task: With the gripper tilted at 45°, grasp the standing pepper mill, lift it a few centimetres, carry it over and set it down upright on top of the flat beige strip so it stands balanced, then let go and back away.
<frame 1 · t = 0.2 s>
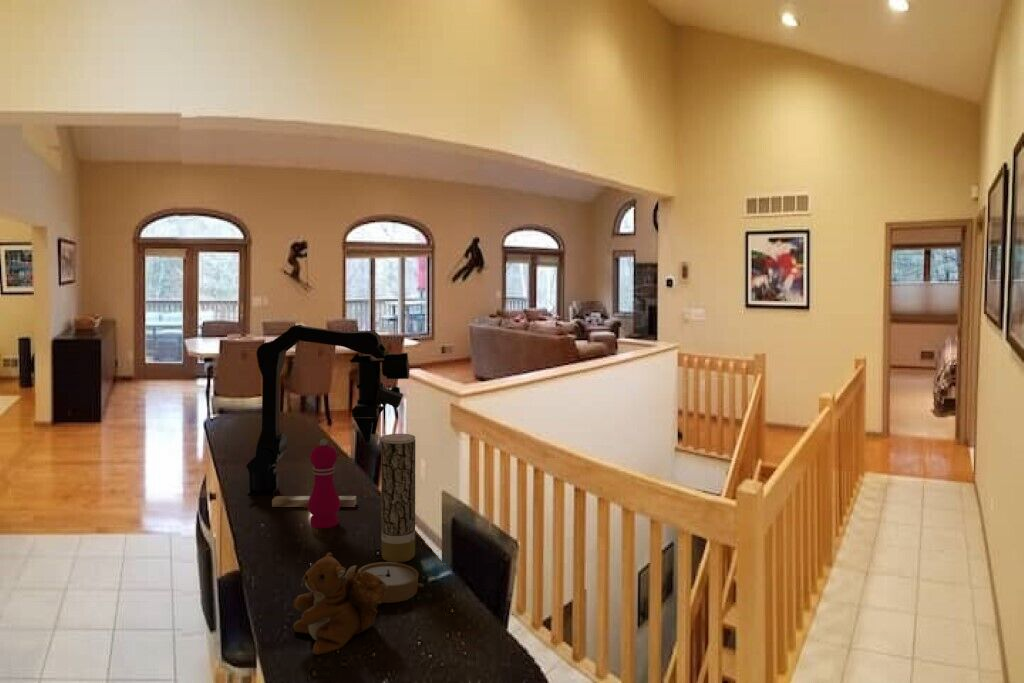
hand: (370, 437, 188), 15 cm above the table, tool pointing down, fingers open, 9 cm apart
pepper mill: (324, 524, 165), on the table
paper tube: (398, 558, 146), on the table
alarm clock: (378, 594, 130), on the table
stuffed squirrel: (340, 635, 115), on the table
flat beige strip: (314, 505, 177), on the table
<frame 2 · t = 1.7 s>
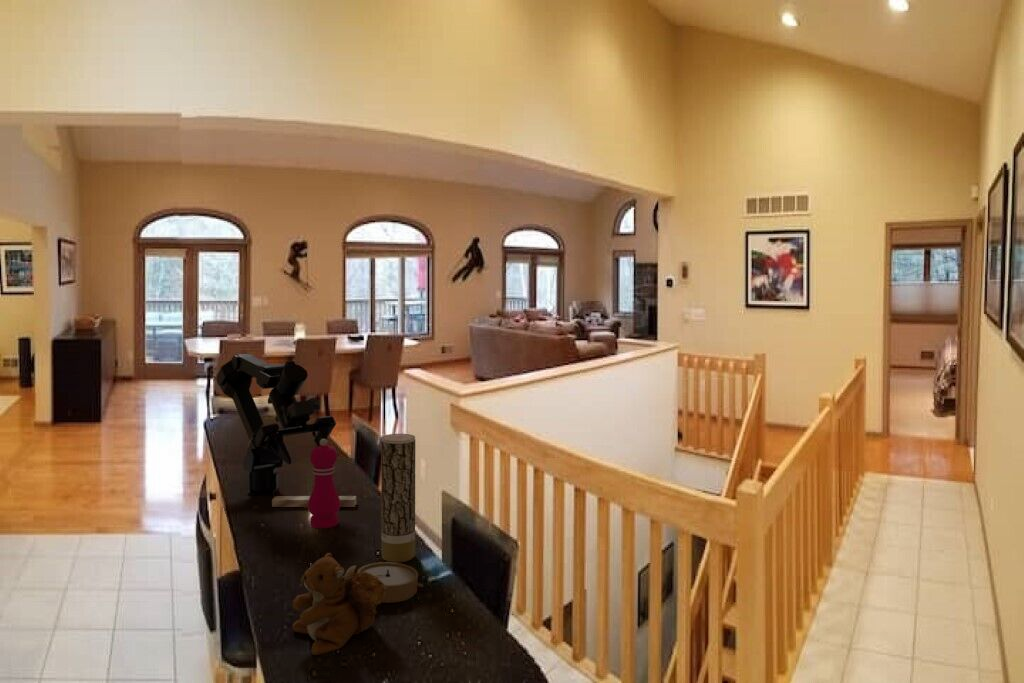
hand: (308, 460, 169), 13 cm above the table, tool tilted 45°, fingers open, 9 cm apart
nothing on the table moved.
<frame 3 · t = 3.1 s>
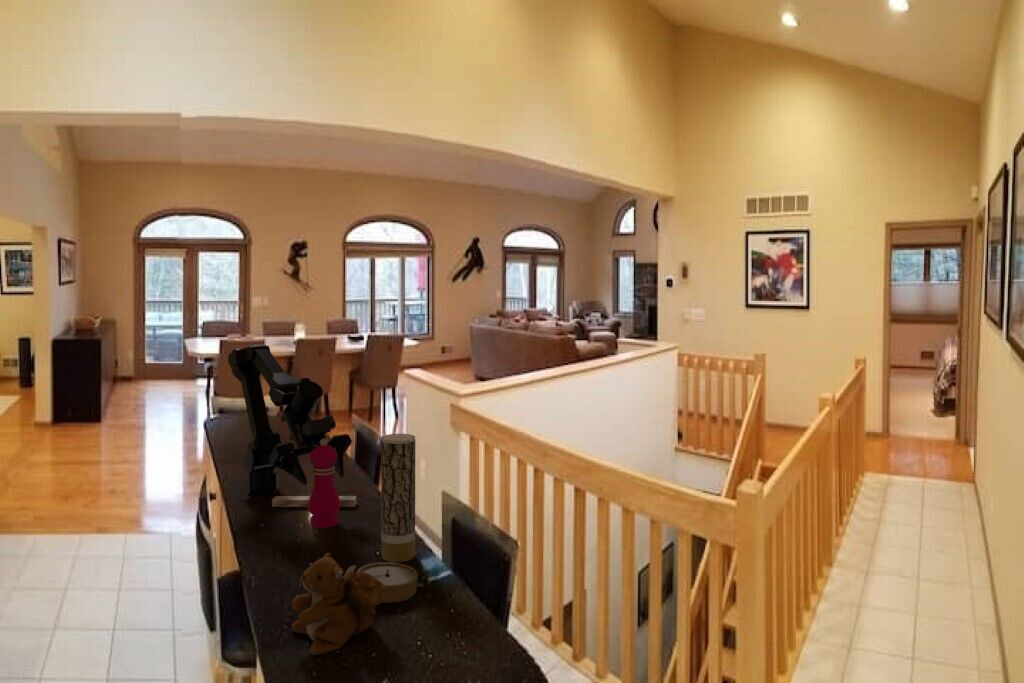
hand: (324, 480, 163), 10 cm above the table, tool tilted 45°, fingers open, 9 cm apart
nothing on the table moved.
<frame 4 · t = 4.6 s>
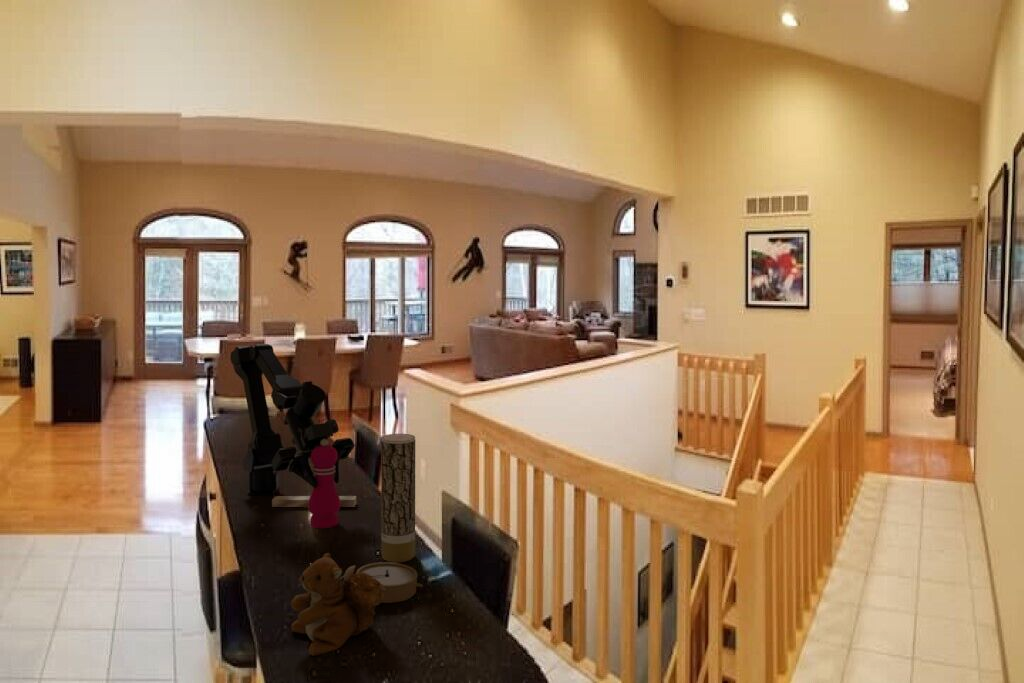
hand: (327, 484, 163), 10 cm above the table, tool tilted 45°, fingers closed on pepper mill, 5 cm apart
pepper mill: (324, 524, 165), on the table, touching gripper
everything else where it was.
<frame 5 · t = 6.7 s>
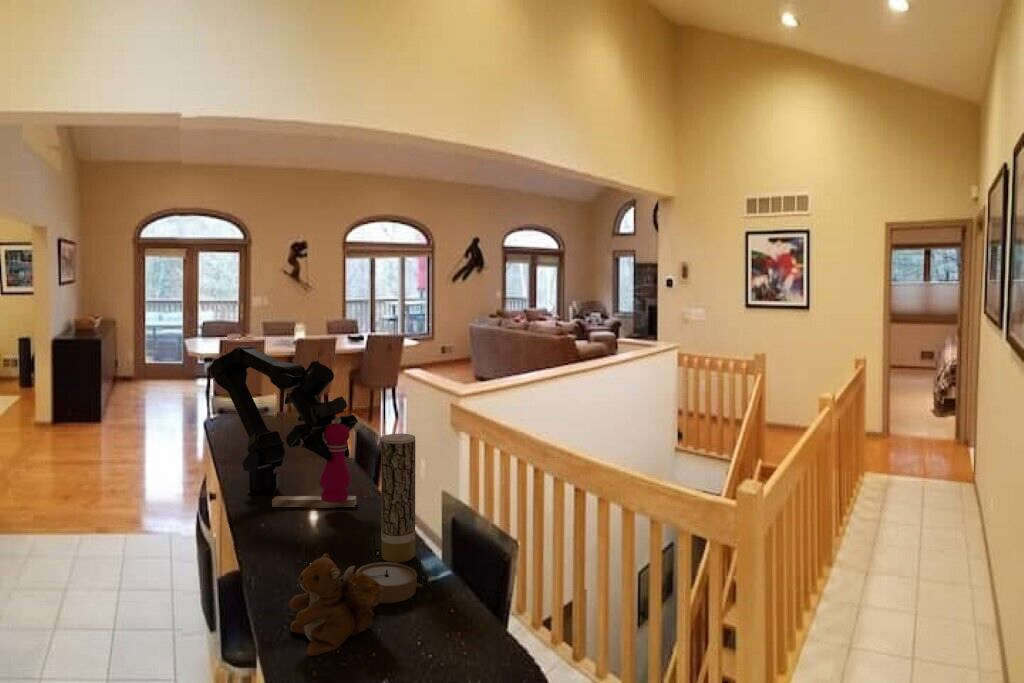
hand: (340, 458, 171), 13 cm above the table, tool tilted 45°, fingers closed on pepper mill, 5 cm apart
pepper mill: (334, 499, 173), point 3 cm above the table, touching gripper
everything else where it was.
when the fingers open (12 cm above the table, at t = 8.8 s): pepper mill stays where it is, resting on flat beige strip.
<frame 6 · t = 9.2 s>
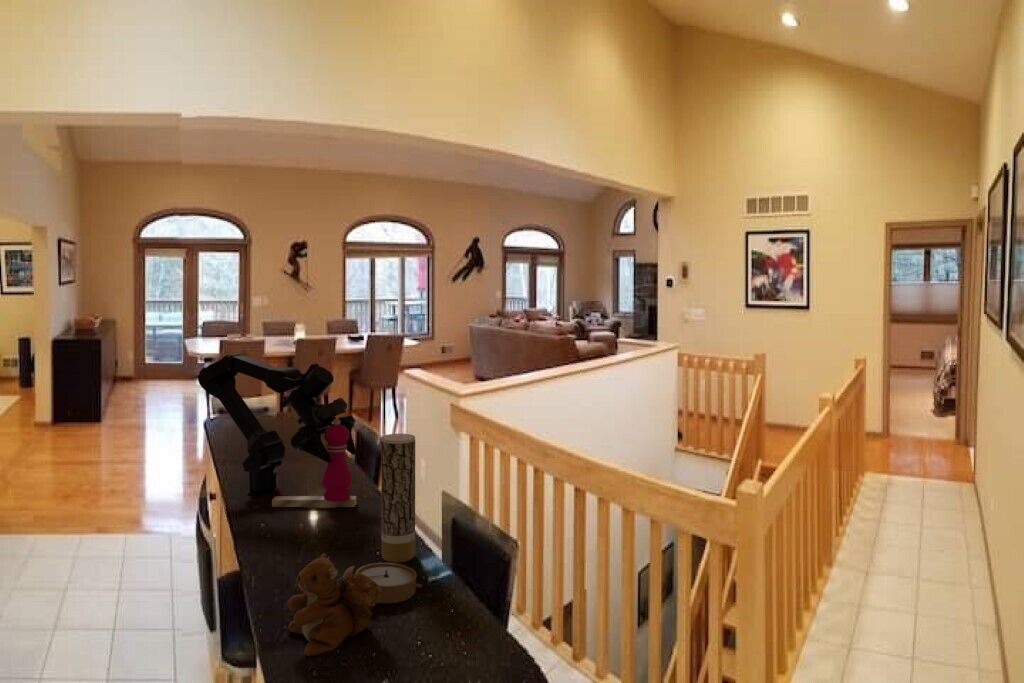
hand: (343, 457, 176), 12 cm above the table, tool tilted 45°, fingers open, 9 cm apart
pepper mill: (337, 498, 177), point 2 cm above the table, touching gripper, flat beige strip
everything else where it was.
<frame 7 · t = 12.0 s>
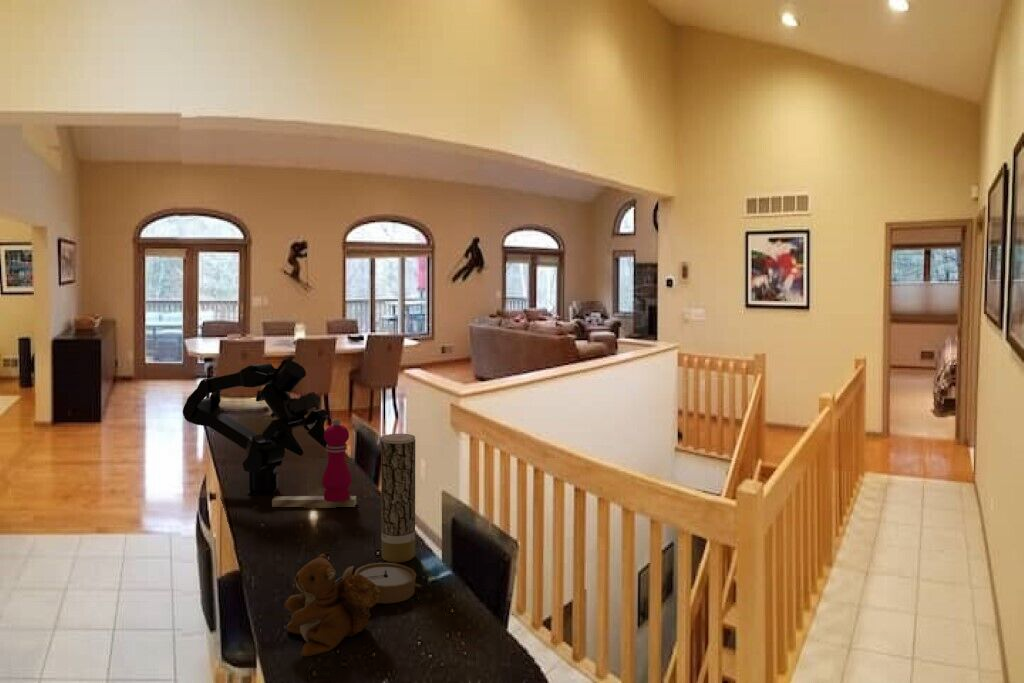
hand: (314, 450, 179), 13 cm above the table, tool tilted 45°, fingers open, 9 cm apart
pepper mill: (337, 498, 177), point 2 cm above the table, touching flat beige strip
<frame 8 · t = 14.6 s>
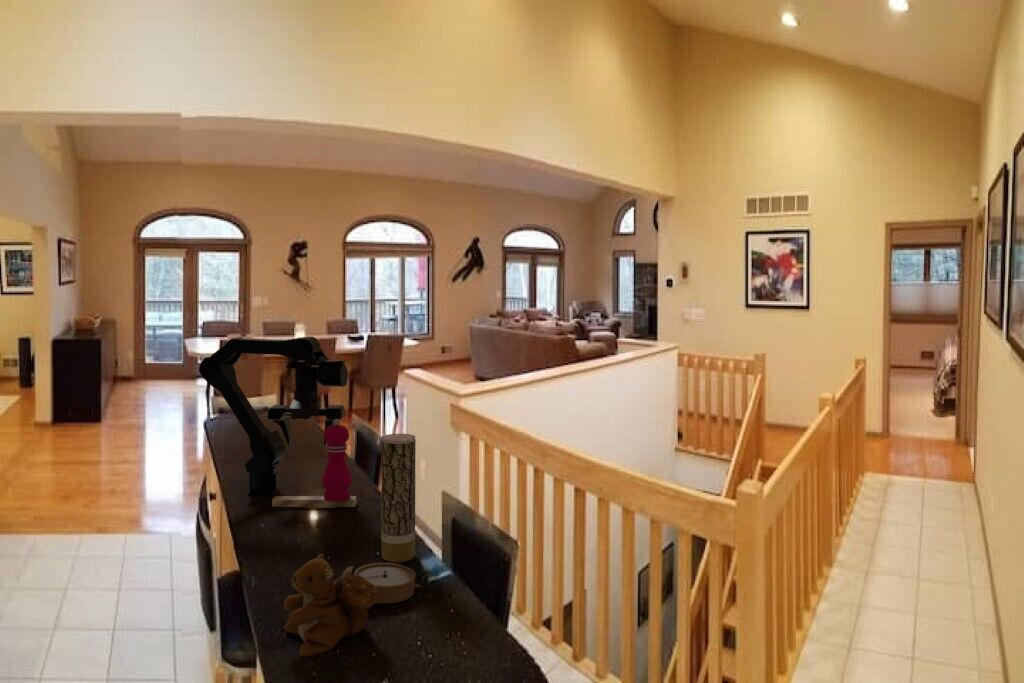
hand: (307, 444, 186), 13 cm above the table, tool pointing down, fingers open, 9 cm apart
at the end: pepper mill inside the target area on the flat beige strip (5.0 cm from its centre), point 1.8 cm above the flat beige strip's base; pepper mill tilted 0°; the gripper is holding nothing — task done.
